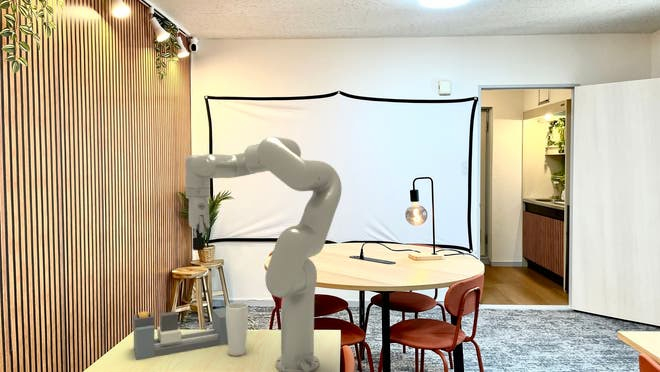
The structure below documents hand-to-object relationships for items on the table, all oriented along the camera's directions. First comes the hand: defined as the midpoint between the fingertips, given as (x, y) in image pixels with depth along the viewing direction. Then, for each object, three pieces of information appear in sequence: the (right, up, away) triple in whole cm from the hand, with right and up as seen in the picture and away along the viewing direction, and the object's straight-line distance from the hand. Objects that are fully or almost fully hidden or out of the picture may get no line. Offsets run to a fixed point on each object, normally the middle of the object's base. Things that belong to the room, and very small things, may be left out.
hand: (198, 249), depth 146 cm
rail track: (-4, -31, 0) cm, 31 cm away
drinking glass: (+14, -32, -6) cm, 35 cm away
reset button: (-15, -22, -6) cm, 27 cm away
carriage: (-8, -28, -3) cm, 29 cm away
